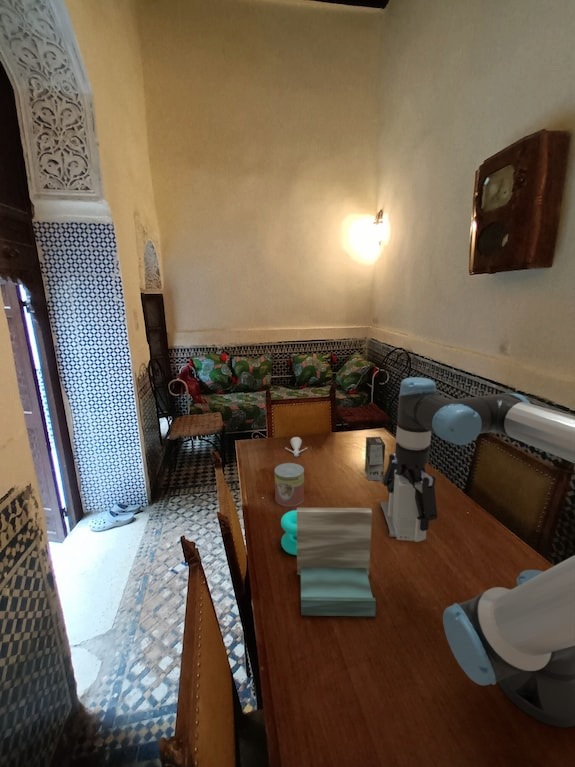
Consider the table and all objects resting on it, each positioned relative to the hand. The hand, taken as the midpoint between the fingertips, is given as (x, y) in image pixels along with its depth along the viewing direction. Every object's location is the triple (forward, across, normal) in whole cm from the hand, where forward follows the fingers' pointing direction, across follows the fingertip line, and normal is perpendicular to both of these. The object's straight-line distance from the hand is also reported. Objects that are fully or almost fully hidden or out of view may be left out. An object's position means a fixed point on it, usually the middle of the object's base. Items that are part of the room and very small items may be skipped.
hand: (405, 526), depth 89 cm
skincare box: (+1, 0, 0) cm, 1 cm away
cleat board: (+20, +6, +16) cm, 26 cm away
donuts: (+20, +26, +19) cm, 38 cm away
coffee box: (+21, +56, -28) cm, 66 cm away
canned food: (+21, +52, +12) cm, 58 cm away
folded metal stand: (+21, +25, -19) cm, 38 cm away
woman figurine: (+22, +93, -7) cm, 95 cm away
